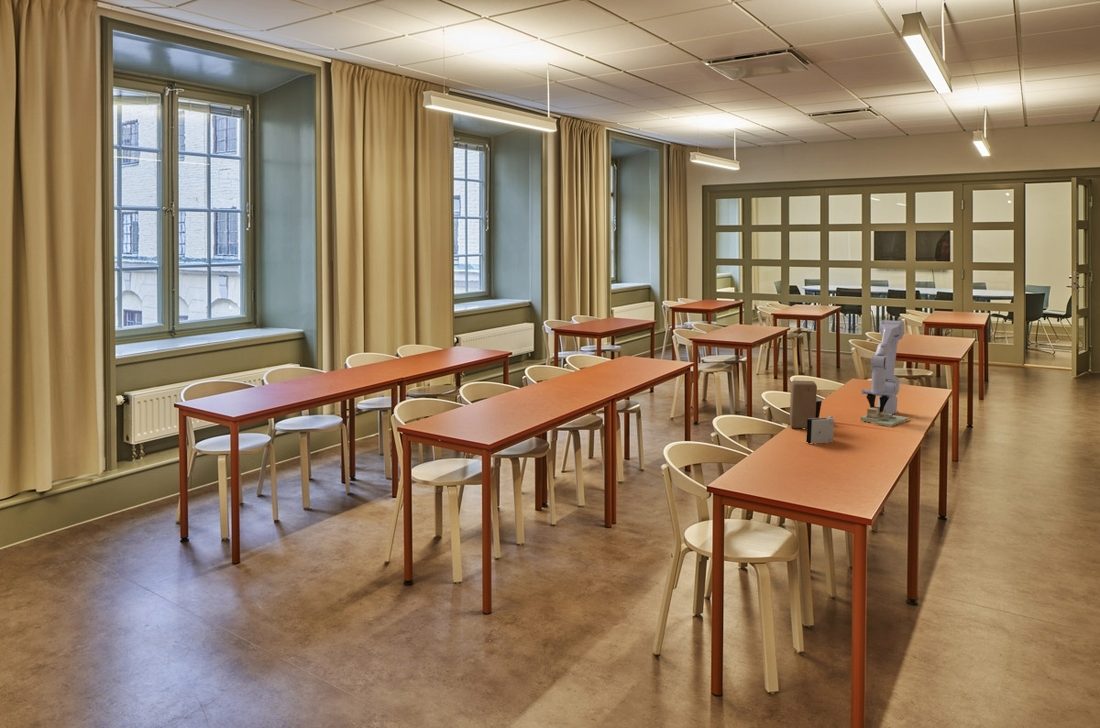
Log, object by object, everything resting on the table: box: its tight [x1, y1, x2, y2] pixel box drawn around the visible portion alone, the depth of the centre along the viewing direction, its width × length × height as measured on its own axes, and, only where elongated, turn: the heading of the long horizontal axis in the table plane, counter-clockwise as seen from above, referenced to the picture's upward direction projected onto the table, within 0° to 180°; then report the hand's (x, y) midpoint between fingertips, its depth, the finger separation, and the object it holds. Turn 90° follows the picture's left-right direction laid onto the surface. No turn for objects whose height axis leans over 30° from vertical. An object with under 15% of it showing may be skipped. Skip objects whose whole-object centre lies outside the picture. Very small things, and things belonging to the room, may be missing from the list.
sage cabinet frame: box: [860, 413, 910, 427], centre depth 371 cm, size 20×14×2 cm
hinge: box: [805, 415, 835, 444], centre depth 331 cm, size 14×5×10 cm, turn 116°
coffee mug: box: [816, 397, 823, 418], centre depth 373 cm, size 12×9×10 cm
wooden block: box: [789, 380, 818, 430], centre depth 359 cm, size 10×10×20 cm
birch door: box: [866, 404, 886, 419], centre depth 373 cm, size 12×4×6 cm, turn 135°
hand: (876, 411), depth 373 cm, fingers open, 3 cm apart
